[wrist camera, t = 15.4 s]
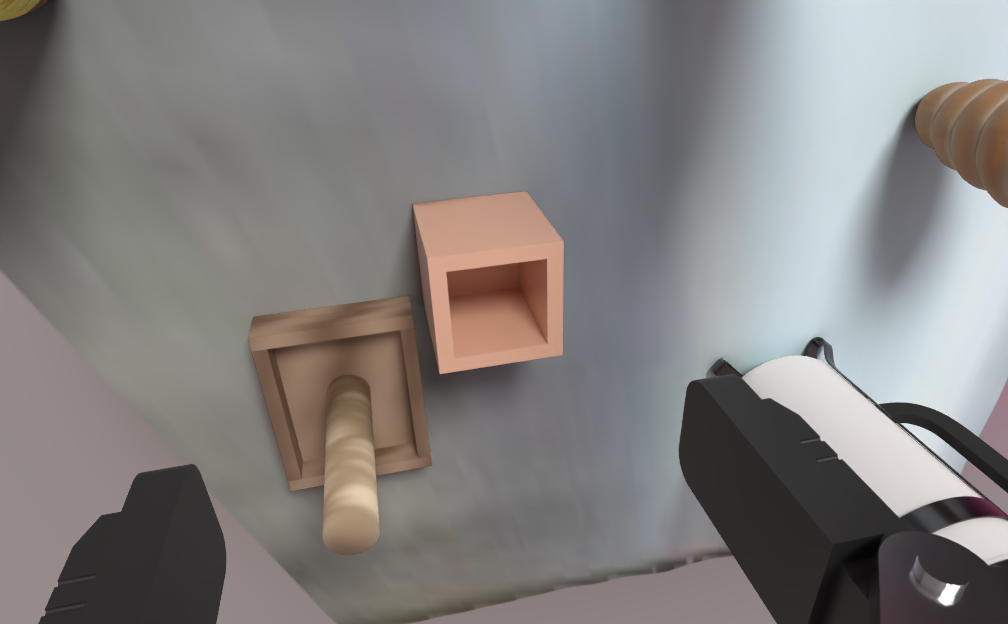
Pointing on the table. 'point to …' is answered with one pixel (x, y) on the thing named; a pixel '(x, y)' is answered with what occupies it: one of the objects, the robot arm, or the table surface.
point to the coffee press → (891, 449)
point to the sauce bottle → (18, 8)
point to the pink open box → (490, 280)
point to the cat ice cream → (970, 132)
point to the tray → (328, 355)
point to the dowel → (350, 468)
